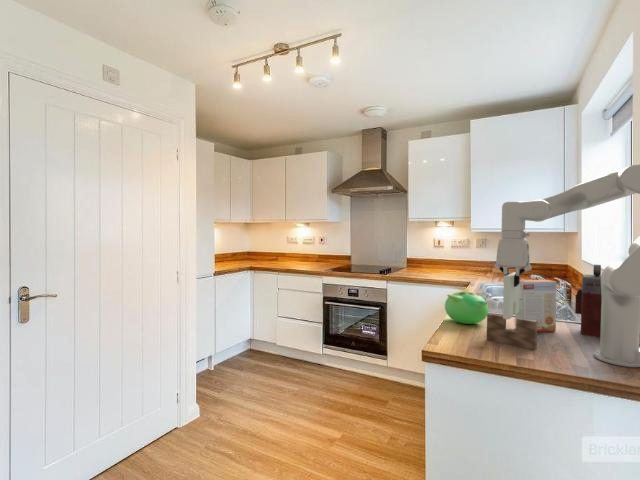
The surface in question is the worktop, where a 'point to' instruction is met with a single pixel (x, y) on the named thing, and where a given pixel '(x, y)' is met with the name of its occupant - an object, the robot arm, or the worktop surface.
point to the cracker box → (538, 303)
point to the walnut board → (512, 331)
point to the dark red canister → (590, 303)
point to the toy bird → (466, 307)
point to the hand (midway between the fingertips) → (511, 285)
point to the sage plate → (510, 297)
